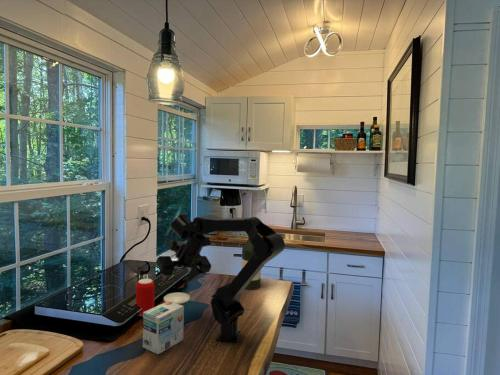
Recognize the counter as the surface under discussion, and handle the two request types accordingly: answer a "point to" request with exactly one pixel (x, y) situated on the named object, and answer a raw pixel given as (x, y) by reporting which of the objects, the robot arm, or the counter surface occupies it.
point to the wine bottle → (246, 256)
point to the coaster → (177, 298)
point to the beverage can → (145, 295)
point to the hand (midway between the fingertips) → (175, 282)
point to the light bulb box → (163, 326)
